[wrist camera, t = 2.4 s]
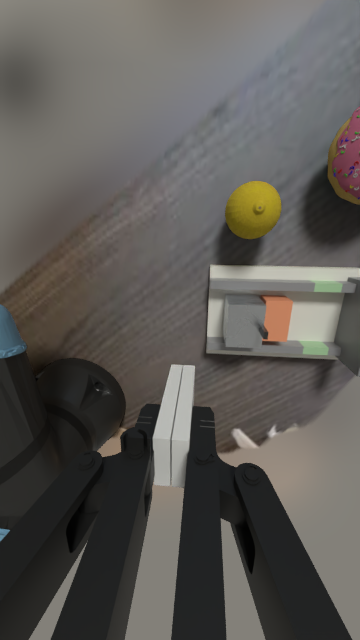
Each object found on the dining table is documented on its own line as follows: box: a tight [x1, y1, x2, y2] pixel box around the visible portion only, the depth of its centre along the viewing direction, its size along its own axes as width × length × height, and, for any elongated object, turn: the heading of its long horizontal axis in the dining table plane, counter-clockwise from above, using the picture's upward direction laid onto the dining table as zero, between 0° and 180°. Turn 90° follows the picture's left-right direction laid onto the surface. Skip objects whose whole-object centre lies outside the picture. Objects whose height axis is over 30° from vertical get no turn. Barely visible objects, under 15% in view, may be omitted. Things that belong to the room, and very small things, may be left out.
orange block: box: [260, 295, 293, 342], centre depth 31 cm, size 3×5×3 cm, turn 0°
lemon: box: [225, 181, 281, 239], centre depth 26 cm, size 6×6×8 cm
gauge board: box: [206, 265, 360, 377], centre depth 30 cm, size 18×12×7 cm, turn 90°
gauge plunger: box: [223, 294, 268, 348], centre depth 29 cm, size 4×5×7 cm
